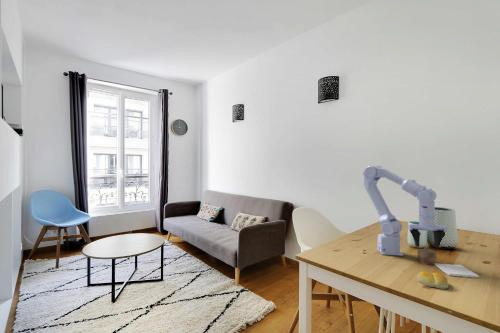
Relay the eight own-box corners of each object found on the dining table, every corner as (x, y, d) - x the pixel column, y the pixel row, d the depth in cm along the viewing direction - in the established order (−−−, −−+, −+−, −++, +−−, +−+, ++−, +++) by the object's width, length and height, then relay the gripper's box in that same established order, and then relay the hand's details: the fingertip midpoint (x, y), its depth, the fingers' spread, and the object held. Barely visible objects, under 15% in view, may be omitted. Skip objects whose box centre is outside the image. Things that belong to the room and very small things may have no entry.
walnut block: (423, 263, 106) (423, 252, 106) (417, 259, 111) (417, 248, 111) (436, 264, 105) (436, 253, 105) (429, 260, 110) (429, 249, 110)
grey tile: (449, 275, 95) (449, 273, 95) (434, 265, 104) (434, 263, 104) (478, 277, 93) (478, 275, 93) (461, 267, 102) (461, 265, 102)
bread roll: (417, 276, 94) (417, 266, 94) (446, 282, 89) (446, 271, 89) (417, 285, 87) (417, 273, 87) (449, 292, 82) (449, 280, 82)
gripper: (412, 217, 106) (412, 248, 105) (450, 218, 103) (451, 250, 103) (405, 214, 112) (405, 243, 112) (441, 215, 110) (441, 245, 110)
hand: (426, 246), depth 108 cm, fingers open, 7 cm apart
